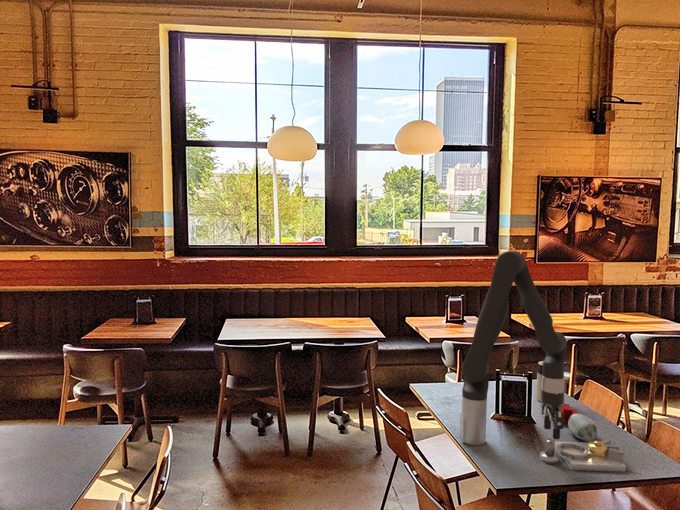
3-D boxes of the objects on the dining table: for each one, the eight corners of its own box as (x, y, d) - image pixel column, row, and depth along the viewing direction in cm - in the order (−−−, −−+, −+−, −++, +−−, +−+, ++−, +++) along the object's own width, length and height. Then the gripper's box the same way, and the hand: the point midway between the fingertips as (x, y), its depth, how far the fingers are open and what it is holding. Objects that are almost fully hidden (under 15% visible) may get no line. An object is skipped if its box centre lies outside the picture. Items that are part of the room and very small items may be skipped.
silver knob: (543, 463, 180) (544, 444, 179) (537, 455, 186) (538, 436, 186) (562, 464, 180) (562, 445, 179) (555, 456, 186) (556, 437, 186)
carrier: (568, 469, 176) (568, 451, 175) (549, 446, 194) (549, 430, 193) (629, 471, 175) (630, 454, 174) (605, 448, 193) (606, 432, 192)
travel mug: (557, 403, 240) (558, 365, 239) (539, 403, 240) (541, 365, 239) (550, 397, 248) (551, 361, 247) (533, 397, 248) (535, 360, 247)
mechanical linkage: (577, 427, 212) (578, 416, 212) (559, 425, 215) (559, 413, 214) (574, 414, 227) (574, 403, 227) (556, 412, 230) (557, 401, 229)
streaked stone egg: (606, 437, 195) (592, 412, 197) (582, 447, 195) (569, 422, 198) (595, 432, 208) (582, 408, 210) (573, 441, 208) (560, 418, 211)
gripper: (535, 382, 189) (534, 425, 190) (549, 395, 174) (548, 442, 175) (555, 382, 188) (554, 426, 189) (571, 395, 174) (570, 442, 175)
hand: (551, 433), depth 182 cm, fingers open, 8 cm apart
